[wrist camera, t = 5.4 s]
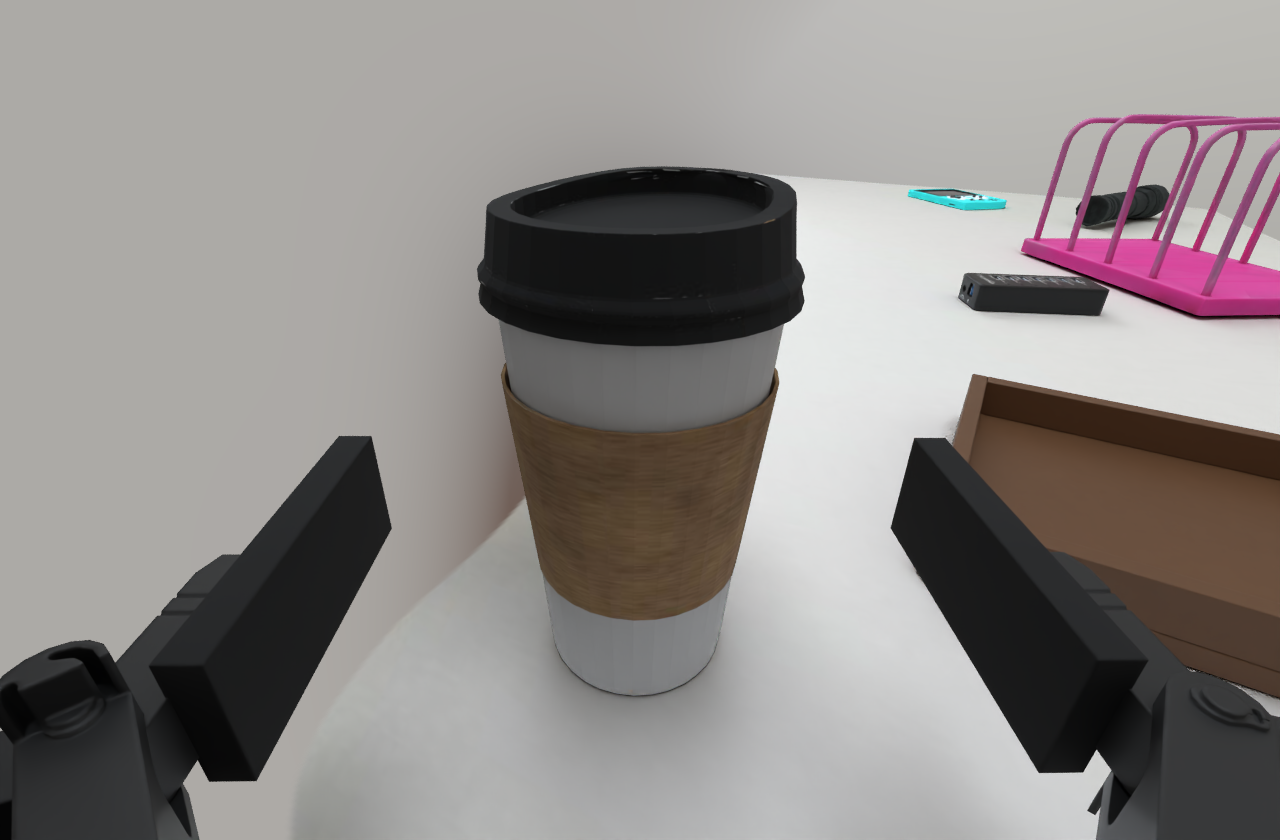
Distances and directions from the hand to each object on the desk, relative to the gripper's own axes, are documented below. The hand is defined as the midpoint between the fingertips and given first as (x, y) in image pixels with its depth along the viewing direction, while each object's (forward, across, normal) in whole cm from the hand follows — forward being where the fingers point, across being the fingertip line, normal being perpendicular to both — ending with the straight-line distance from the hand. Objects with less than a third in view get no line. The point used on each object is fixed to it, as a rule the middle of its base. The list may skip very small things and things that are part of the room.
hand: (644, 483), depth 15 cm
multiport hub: (+42, +37, -9) cm, 56 cm away
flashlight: (+85, +77, -9) cm, 115 cm away
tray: (+8, +23, -8) cm, 26 cm away
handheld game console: (+104, +60, -9) cm, 120 cm away
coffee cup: (+3, 0, -9) cm, 9 cm away
